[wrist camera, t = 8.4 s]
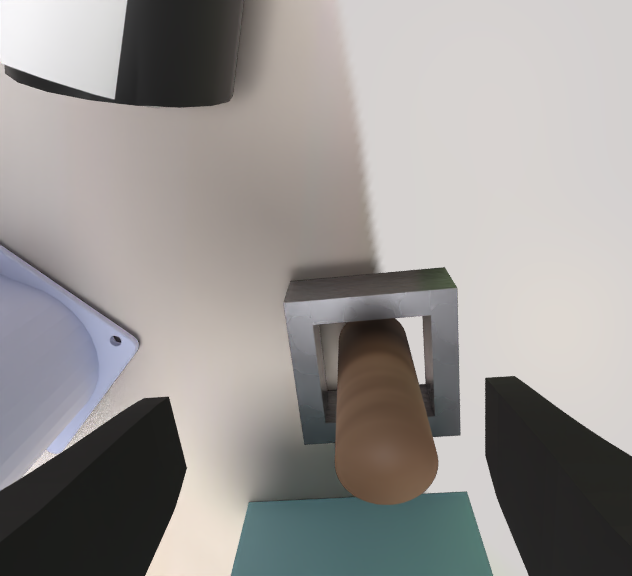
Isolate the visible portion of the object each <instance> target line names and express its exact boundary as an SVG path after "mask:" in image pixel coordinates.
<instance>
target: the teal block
mask: <svg viewBox="0 0 632 576" xmlns="http://www.w3.org/2000/svg"><path fill="white" fill-rule="evenodd" d="M231 576H493V574H492V570H491V567H490V564H489V561H488V558H487V555H486V551H485V548H484V545H483V542H482V538H481V536H480V532H479V529H478V526H477V523H476V519H475V517H474V513H473V510H472V507H471V503H470V500H469V497H468V494H467V492H450V493H449V492H448V493H428V494H421V495H419V496H418V497H416V498H414V499H412V500H410V501H407V502H404V503H400V504H394V505H379V504H373V503H369V502H366V501H363V500H361V499H359V498H357V497H347V498H327V499H307V500H287V501H266V502H249V504H248V508H247V512H246V516H245V520H244V524H243V528H242V532H241V536H240V540H239V545H238V549H237V553H236V557H235V561H234V565H233V569H232V573H231Z"/></svg>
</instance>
